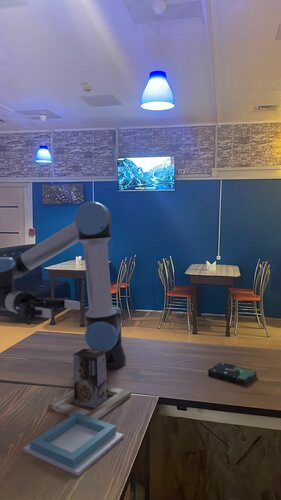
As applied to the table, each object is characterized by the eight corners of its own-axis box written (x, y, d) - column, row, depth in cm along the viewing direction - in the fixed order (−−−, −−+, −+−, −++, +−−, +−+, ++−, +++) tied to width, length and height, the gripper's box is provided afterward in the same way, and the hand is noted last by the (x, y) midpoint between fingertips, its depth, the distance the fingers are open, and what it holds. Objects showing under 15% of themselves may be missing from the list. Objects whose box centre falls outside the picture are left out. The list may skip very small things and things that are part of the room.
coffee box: (108, 400, 120) (108, 351, 119) (98, 409, 114) (97, 357, 113) (84, 395, 124) (83, 347, 123) (73, 403, 118) (72, 353, 117)
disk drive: (207, 377, 139) (245, 387, 130) (207, 369, 139) (245, 379, 130) (220, 368, 147) (257, 377, 138) (220, 361, 147) (257, 370, 138)
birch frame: (48, 408, 115) (48, 403, 115) (90, 384, 132) (90, 380, 132) (92, 423, 106) (91, 418, 106) (130, 396, 123) (130, 391, 123)
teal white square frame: (23, 450, 93) (23, 440, 93) (72, 419, 108) (72, 409, 108) (78, 476, 84) (78, 464, 84) (123, 437, 99) (123, 427, 99)
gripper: (47, 306, 144) (90, 313, 133) (-9, 320, 123) (36, 330, 112) (47, 287, 144) (90, 292, 132) (-10, 297, 122) (36, 305, 111)
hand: (65, 309), depth 122 cm, fingers open, 13 cm apart
